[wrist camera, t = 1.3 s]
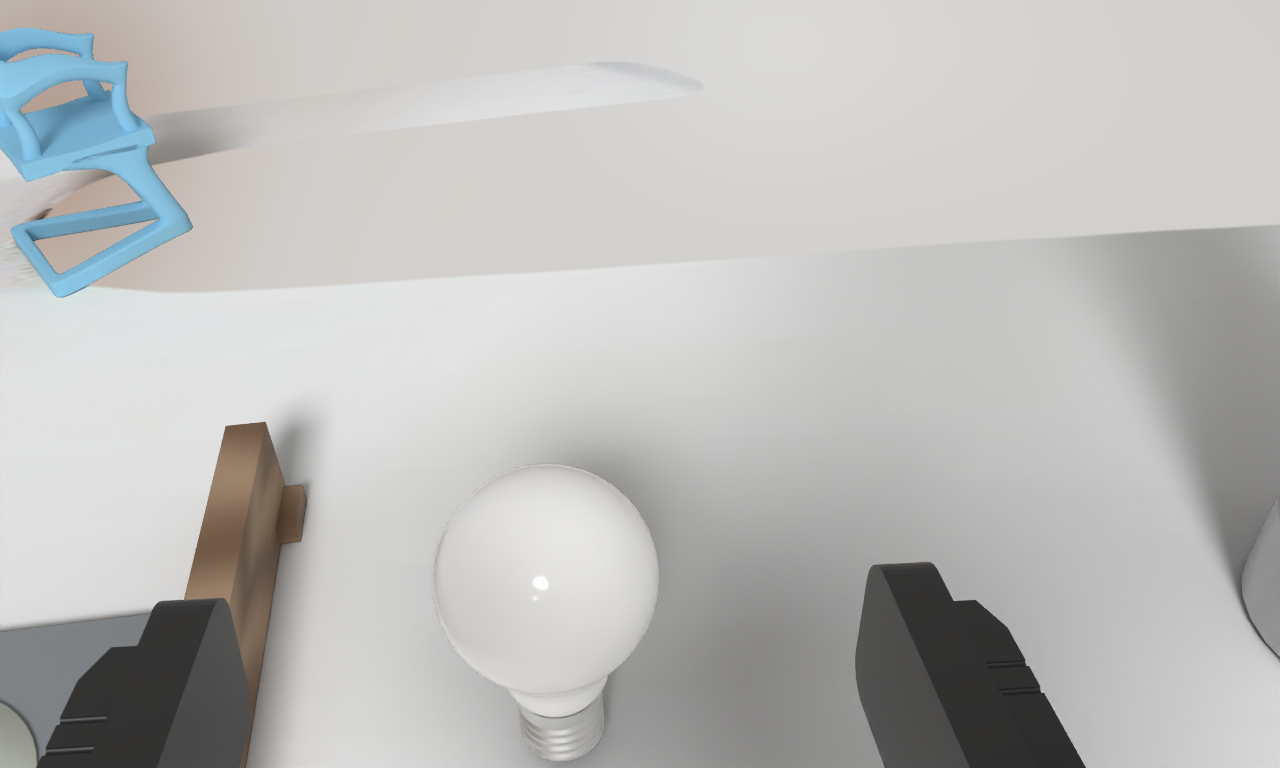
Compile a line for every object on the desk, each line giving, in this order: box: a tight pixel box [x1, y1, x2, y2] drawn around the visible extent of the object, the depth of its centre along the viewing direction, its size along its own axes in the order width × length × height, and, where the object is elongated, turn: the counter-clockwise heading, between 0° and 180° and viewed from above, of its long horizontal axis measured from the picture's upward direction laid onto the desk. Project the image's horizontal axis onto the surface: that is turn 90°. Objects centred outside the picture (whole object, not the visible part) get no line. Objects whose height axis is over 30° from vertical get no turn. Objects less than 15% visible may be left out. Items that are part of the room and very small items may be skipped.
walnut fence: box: [184, 422, 307, 768], centre depth 33 cm, size 26×3×4 cm, turn 8°
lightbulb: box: [432, 464, 659, 762], centre depth 32 cm, size 6×6×11 cm
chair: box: [0, 28, 193, 297], centre depth 57 cm, size 8×8×12 cm
